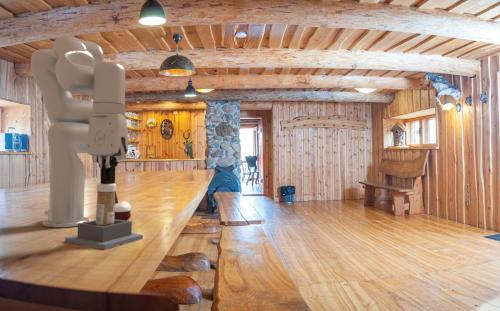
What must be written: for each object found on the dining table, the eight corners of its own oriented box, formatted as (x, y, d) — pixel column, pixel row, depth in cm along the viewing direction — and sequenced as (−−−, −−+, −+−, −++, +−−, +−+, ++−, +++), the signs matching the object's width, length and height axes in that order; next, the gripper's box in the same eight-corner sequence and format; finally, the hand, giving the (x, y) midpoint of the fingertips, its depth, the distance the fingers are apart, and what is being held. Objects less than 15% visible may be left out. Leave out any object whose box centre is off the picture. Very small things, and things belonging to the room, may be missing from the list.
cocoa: (133, 223, 109) (136, 187, 109) (113, 225, 105) (116, 187, 105) (124, 217, 117) (127, 183, 117) (105, 218, 113) (108, 183, 113)
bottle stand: (65, 241, 83) (65, 223, 84) (104, 232, 94) (105, 216, 94) (105, 249, 77) (105, 230, 77) (142, 238, 88) (143, 221, 88)
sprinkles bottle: (115, 237, 85) (118, 184, 85) (96, 238, 83) (98, 184, 83) (111, 232, 89) (114, 182, 89) (93, 234, 87) (95, 182, 86)
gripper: (76, 111, 86) (74, 183, 85) (118, 107, 79) (117, 185, 79) (100, 115, 92) (99, 182, 92) (141, 112, 86) (140, 183, 86)
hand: (107, 183), depth 85 cm, fingers closed
